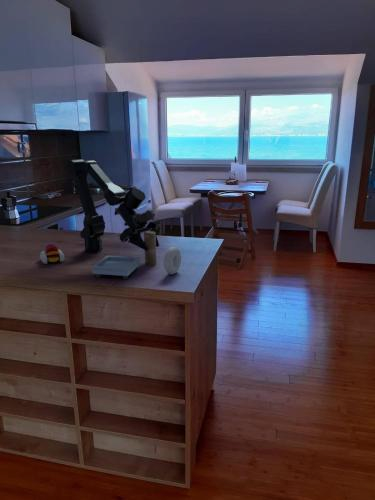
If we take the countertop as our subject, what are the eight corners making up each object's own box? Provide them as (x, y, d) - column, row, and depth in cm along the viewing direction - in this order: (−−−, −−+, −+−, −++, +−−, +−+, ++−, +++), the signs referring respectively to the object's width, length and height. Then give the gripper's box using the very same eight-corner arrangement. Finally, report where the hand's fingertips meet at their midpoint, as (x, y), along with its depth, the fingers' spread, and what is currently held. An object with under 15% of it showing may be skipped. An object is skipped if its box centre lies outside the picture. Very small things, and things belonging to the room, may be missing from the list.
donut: (174, 268, 144) (174, 243, 141) (182, 270, 143) (182, 244, 140) (162, 277, 136) (161, 250, 133) (170, 278, 134) (170, 251, 131)
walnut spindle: (143, 265, 148) (142, 233, 145) (147, 261, 152) (145, 231, 149) (154, 266, 147) (153, 234, 144) (157, 262, 151) (156, 231, 148)
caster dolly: (93, 277, 136) (92, 266, 134) (107, 266, 148) (107, 255, 147) (128, 280, 133) (127, 268, 132) (140, 268, 145) (139, 257, 144)
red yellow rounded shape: (43, 266, 148) (41, 248, 146) (39, 259, 157) (37, 242, 155) (65, 263, 152) (64, 245, 150) (61, 256, 160) (59, 239, 158)
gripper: (123, 207, 138) (148, 241, 135) (156, 200, 153) (179, 230, 150) (109, 225, 145) (132, 258, 142) (142, 217, 159) (163, 247, 156)
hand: (153, 248), depth 147 cm, fingers open, 6 cm apart
